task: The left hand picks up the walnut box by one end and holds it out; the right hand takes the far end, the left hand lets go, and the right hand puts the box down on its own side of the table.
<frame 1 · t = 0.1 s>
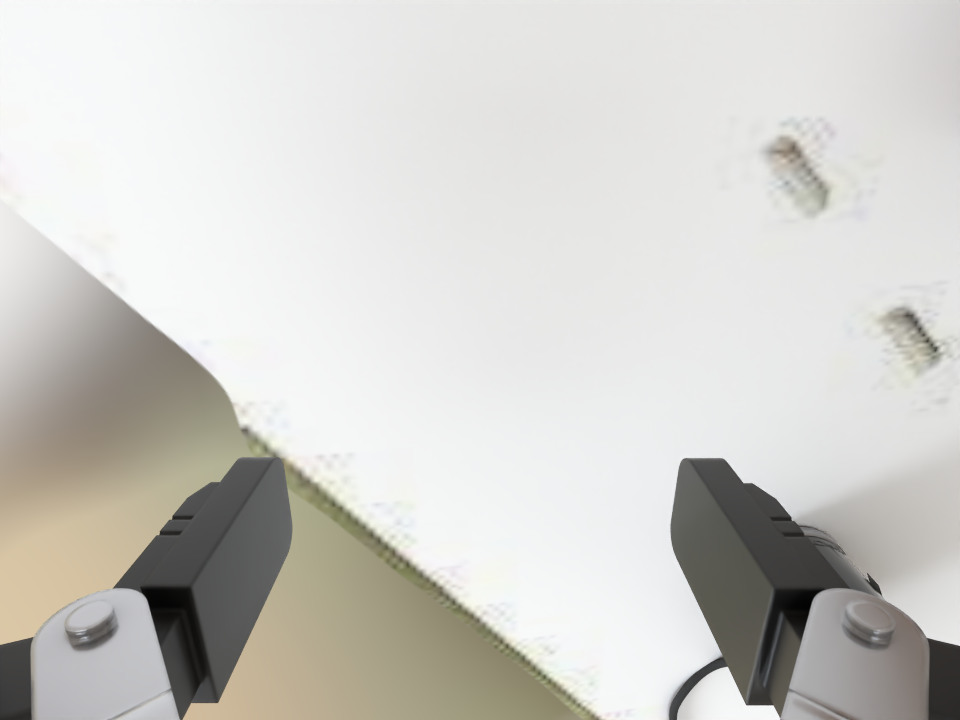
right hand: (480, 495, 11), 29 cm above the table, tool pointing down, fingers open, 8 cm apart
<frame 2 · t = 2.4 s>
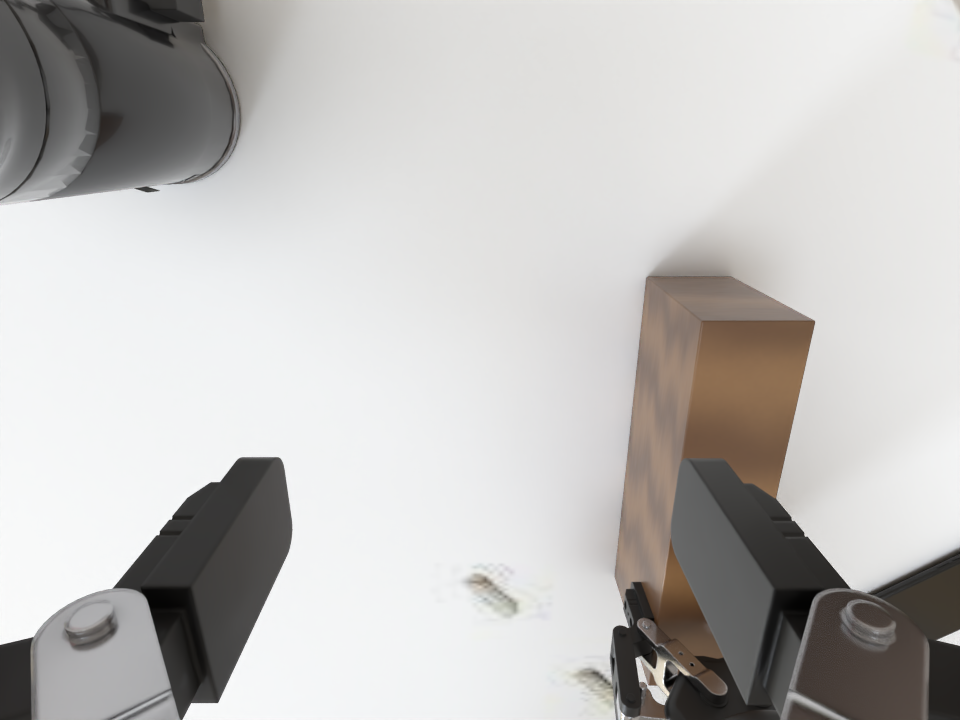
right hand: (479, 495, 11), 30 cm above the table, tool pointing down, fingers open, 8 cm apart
smartphone: (921, 601, 51), on the table
box: (666, 442, 45), on the table, touching left hand
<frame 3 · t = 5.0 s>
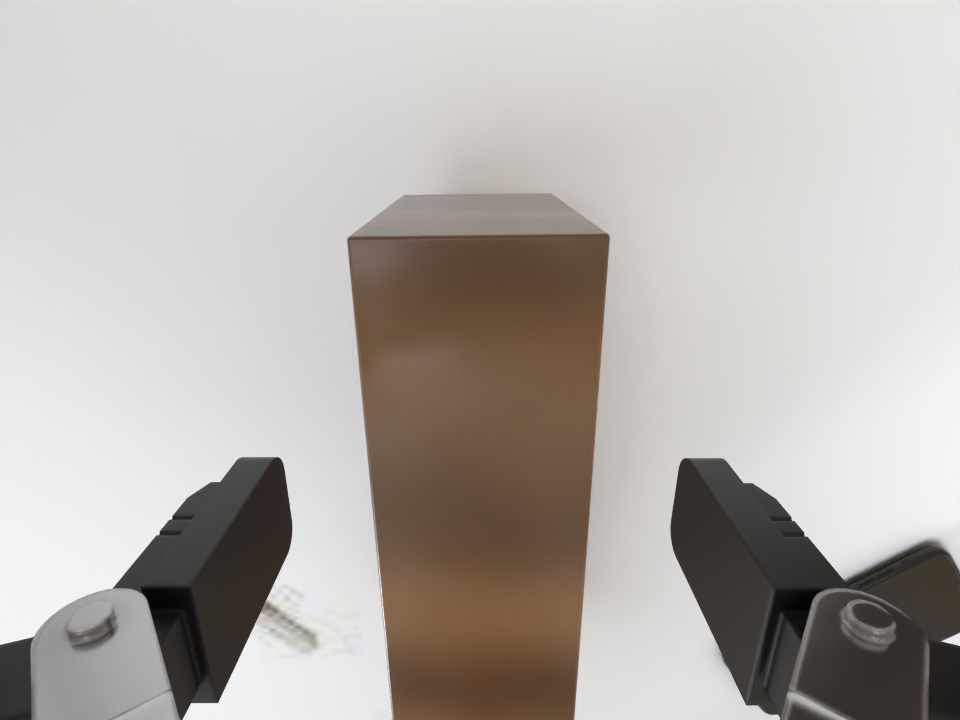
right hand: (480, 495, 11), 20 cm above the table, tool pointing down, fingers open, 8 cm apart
smartphone: (842, 627, 39), on the table
box: (480, 475, 28), point 5 cm above the table, touching left hand
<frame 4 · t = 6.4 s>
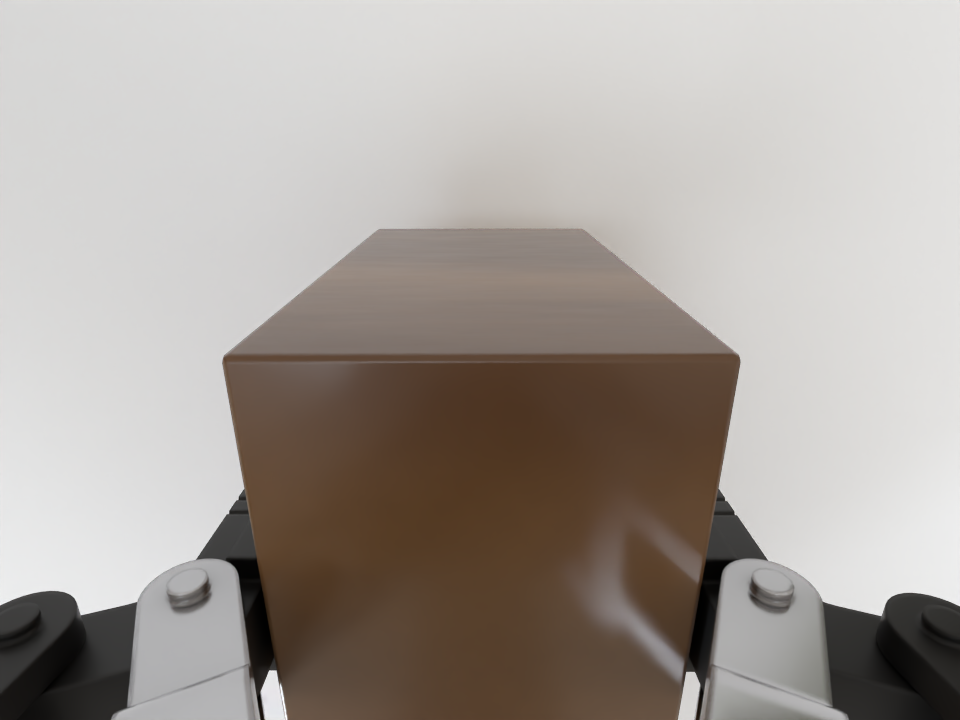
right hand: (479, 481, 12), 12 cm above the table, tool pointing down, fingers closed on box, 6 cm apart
box: (480, 588, 21), point 5 cm above the table, touching right hand, left hand
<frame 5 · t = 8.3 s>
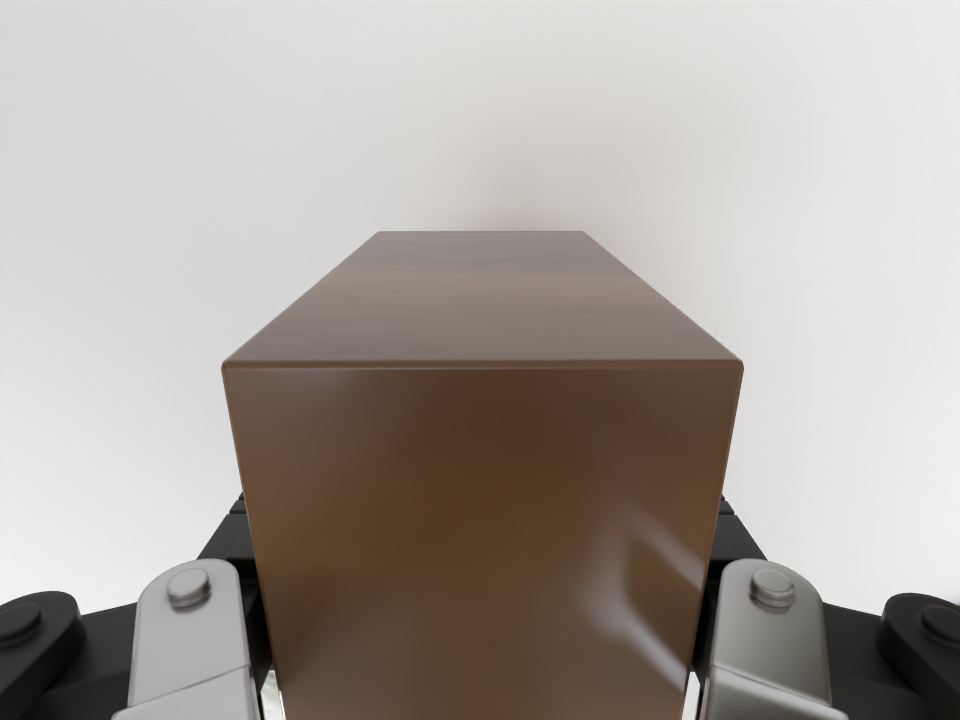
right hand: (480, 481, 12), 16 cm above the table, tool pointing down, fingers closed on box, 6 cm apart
box: (481, 591, 21), point 9 cm above the table, touching right hand
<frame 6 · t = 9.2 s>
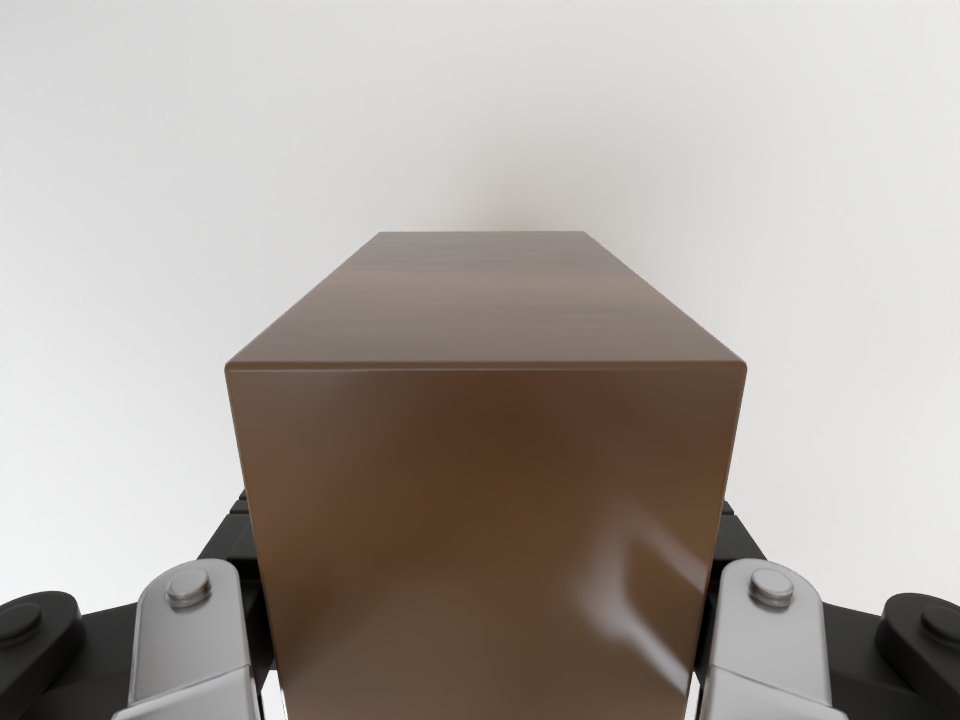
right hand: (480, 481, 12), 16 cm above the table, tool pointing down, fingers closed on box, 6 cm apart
box: (482, 592, 21), point 9 cm above the table, touching right hand
when the right hand's fingers open (8 cm above the table, at t = 12.3 s): box stays where it is, on the table.
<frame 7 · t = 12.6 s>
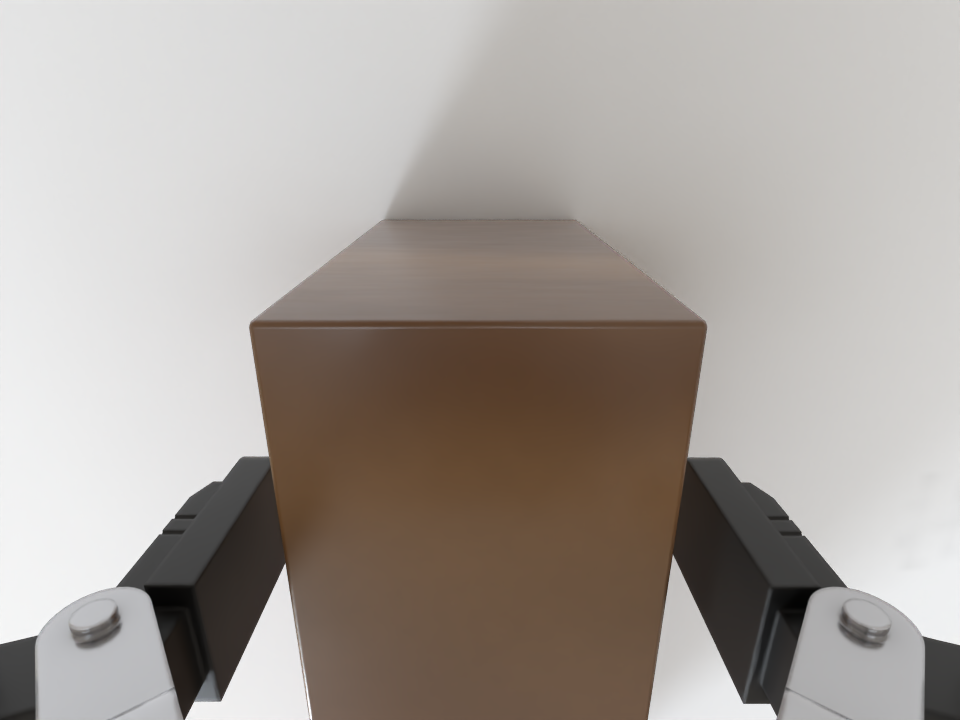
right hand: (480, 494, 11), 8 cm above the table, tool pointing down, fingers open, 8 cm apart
box: (479, 567, 22), on the table
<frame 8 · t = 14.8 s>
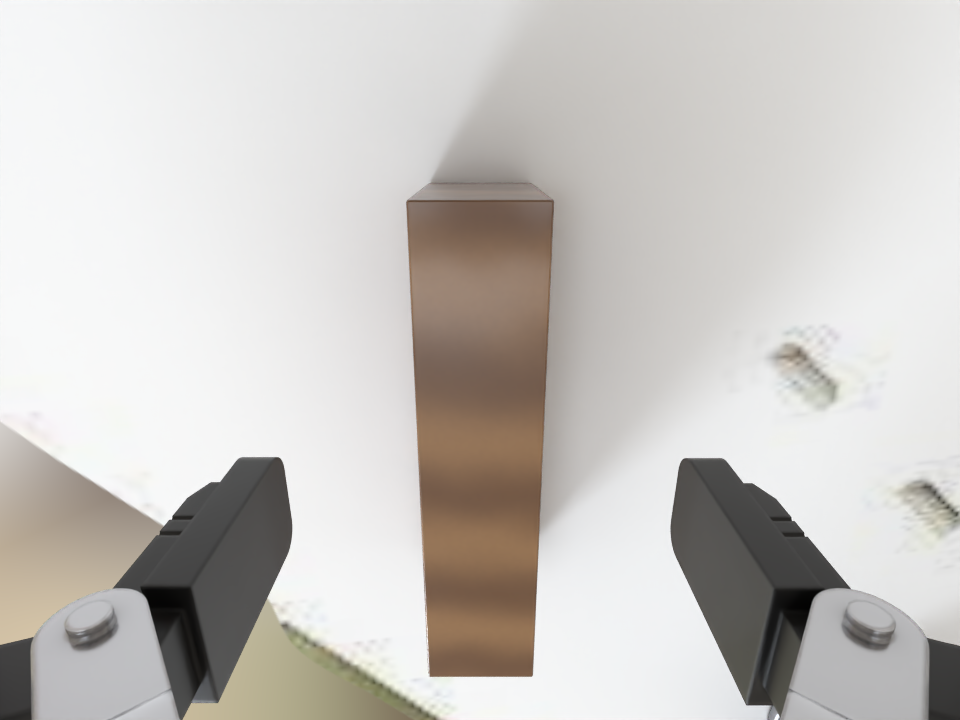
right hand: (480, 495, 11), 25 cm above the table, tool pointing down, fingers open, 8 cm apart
box: (480, 391, 38), on the table
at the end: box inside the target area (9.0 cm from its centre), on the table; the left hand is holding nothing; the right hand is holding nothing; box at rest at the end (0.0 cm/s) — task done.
